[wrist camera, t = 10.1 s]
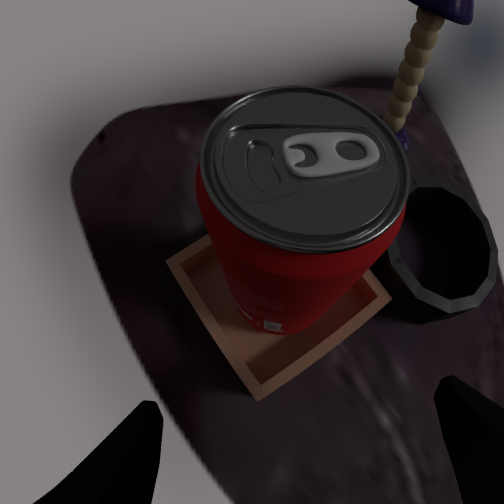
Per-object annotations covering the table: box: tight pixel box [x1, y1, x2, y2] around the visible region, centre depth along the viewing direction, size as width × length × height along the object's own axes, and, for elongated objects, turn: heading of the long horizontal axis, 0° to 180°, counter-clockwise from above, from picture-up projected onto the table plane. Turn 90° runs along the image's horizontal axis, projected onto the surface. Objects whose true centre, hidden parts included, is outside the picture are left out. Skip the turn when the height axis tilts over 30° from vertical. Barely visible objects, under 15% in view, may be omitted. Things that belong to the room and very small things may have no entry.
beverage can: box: [196, 85, 410, 335], centre depth 12 cm, size 5×5×12 cm
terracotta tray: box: [166, 234, 392, 402], centre depth 17 cm, size 9×9×2 cm
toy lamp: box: [379, 0, 474, 154], centre depth 15 cm, size 5×5×17 cm
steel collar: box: [369, 178, 498, 325], centre depth 17 cm, size 8×8×4 cm
